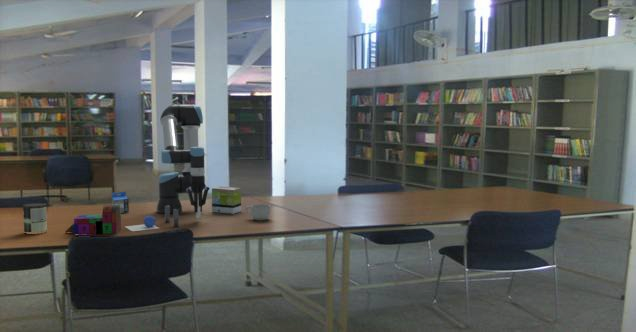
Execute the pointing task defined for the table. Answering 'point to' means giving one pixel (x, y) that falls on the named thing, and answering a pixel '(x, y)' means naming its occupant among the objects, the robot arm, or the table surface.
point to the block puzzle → (98, 221)
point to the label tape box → (121, 201)
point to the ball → (149, 221)
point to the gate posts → (175, 215)
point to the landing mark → (140, 227)
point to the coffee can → (35, 217)
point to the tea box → (226, 200)
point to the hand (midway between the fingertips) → (198, 217)
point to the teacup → (259, 211)
